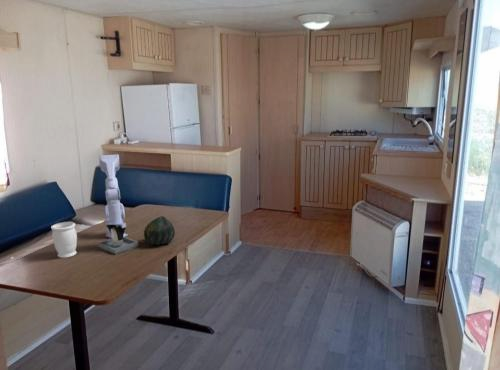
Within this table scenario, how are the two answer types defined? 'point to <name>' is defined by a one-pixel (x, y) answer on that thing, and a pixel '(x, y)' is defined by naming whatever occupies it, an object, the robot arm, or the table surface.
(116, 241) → the cup
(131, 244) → the tray
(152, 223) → the squash
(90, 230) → the table surface
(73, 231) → the jar
